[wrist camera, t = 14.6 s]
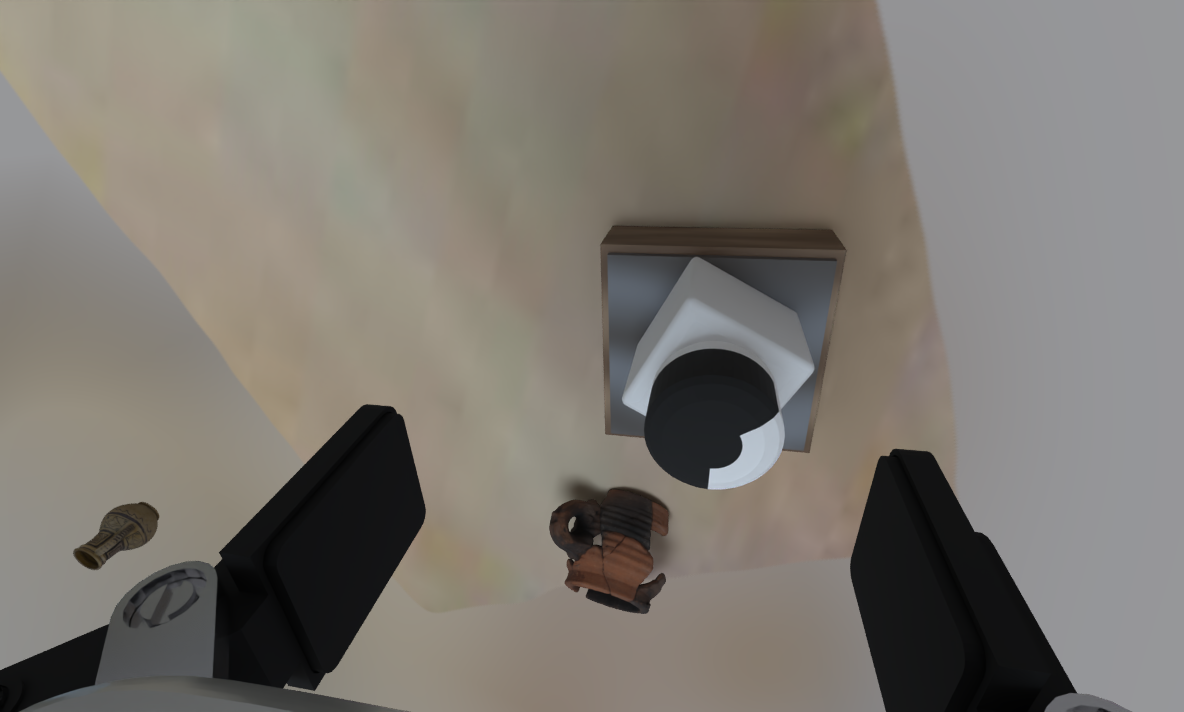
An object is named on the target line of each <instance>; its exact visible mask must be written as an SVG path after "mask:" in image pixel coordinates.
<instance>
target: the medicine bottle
mask: <svg viewBox="0 0 1184 712" xmlns="http://www.w3.org/2000/svg"><path fill="white" fill-rule="evenodd" d="M813 371H814V364H813V361H812V357H811V354H810V351H809V348H808V345H807V342H806V339H805V336H804V333H803V330H802V327H801V324H800V321H799V318H798V315H797V313H796V312H795V311H793V310H791V309H790V308H788V307H786V306H784V305H782V304H781V303H779V302H777V301H775V300H774V299H772V298H770V297H768V296H767V295H765V294H763V293H761V292H760V291H758V290H756V289H754V288H752V287H751V286H749V285H747V284H745V283H744V282H742V281H740V280H738V279H737V278H735V277H733V276H731V275H729V274H728V273H726V272H724V271H722V270H721V269H719V268H717V267H715V266H714V265H712V264H710V263H708V262H706V261H705V260H703V259H701V258H699V257H694V258H693V259H691V261H690V262H689V264H688V265H687V267H686V269H685V270H684V272H683V273H682V275H681V276H680V278H679V280H678V281H677V283H676V284H675V286H674V288H673V289H672V291H671V292H670V294H669V295H668V297H667V299H666V300H665V302H664V303H663V305H662V307H661V308H660V310H659V311H658V313H657V314H656V316H655V318H654V319H653V321H652V322H651V324H650V326H649V327H648V329H647V330H646V332H645V333H644V335H643V337H642V338H641V340H640V341H639V343H638V345H637V348H636V352H635V355H634V359H633V362H632V366H631V369H630V373H629V376H628V379H627V383H626V386H625V390H624V393H623V397H622V401H623V403H624V404H625V405H626V406H628V407H630V408H631V409H633V410H635V411H637V412H639V413H641V414H642V415H644V416H646V418H645V423H644V436H645V441H646V445H647V447H648V450H649V452H650V454H651V455H652V457H653V459H654V460H655V461H656V462H657V464H658V465H659V466H660V467H661V468H662V469H663V470H665V471H666V472H667V473H668V474H670V475H671V476H673V477H674V478H676V479H678V480H680V481H682V482H684V483H687V484H689V485H692V486H695V487H699V488H705V489H729V488H734V487H738V486H742V485H745V484H747V483H749V482H752V481H754V480H756V479H757V478H759V477H761V476H762V475H763V474H765V473H766V472H767V471H768V470H769V469H770V468H771V467H772V466H773V465H774V463H775V462H776V461H777V459H778V457H779V456H780V454H781V451H782V448H783V445H784V438H785V431H784V423H783V418H782V413H781V409H782V408H783V407H784V406H785V404H786V403H787V402H788V401H789V400H790V399H791V397H792V396H793V395H794V394H795V393H796V392H797V391H798V389H799V388H800V387H801V386H802V385H803V384H804V382H805V381H806V380H807V379H808V378H809V377H810V376H811V374H812V373H813Z"/></svg>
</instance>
